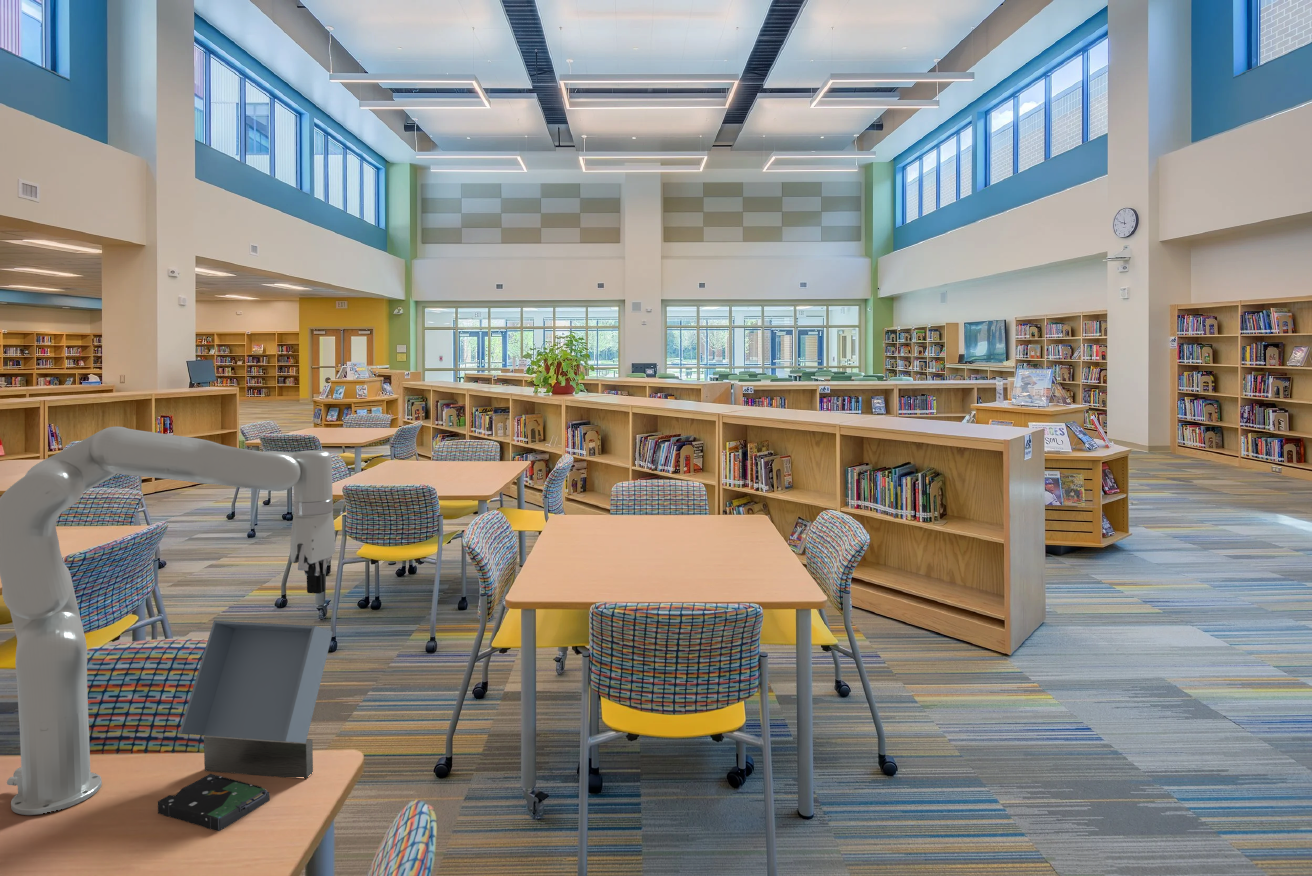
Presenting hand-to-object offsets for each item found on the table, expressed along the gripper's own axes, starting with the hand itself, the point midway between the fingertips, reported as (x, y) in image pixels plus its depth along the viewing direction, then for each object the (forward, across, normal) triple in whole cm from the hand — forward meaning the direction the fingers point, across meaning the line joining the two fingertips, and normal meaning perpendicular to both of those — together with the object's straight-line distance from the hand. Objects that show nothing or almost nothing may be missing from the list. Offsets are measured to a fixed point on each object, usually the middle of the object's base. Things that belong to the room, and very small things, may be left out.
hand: (316, 592), depth 158 cm
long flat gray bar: (+30, +20, 0) cm, 36 cm away
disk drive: (+30, +32, 0) cm, 44 cm away
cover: (+10, +22, 0) cm, 24 cm away
